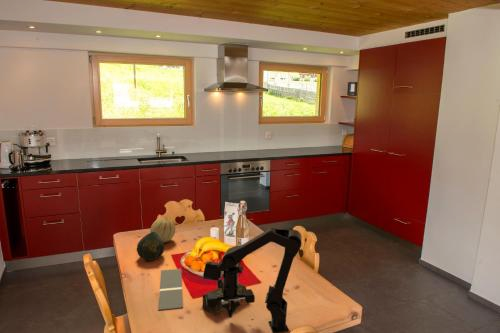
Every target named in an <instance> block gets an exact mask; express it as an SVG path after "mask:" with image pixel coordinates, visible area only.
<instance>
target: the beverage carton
mask: <svg viewBox="0 0 500 333" xmlns="http://www.w3.org/2000/svg"><path fill="white" fill-rule="evenodd" d="M246 289H247V286H246V285H244V284H242V283H241V282H239V281H238V294H242V290H246ZM215 292H216V296H220V295H223V293H222V288H217V287H216V289H214V290H211V291H209V292H206V293H204V294H202V306H201V307H202V308H203V310H206V311H207V312H208V313H210V315H212V316H215V315H216V314H218V313H221V312H223V311H224V310H226V309H225V308H223V307H222V306H221V302H220V301H217V305H216V306H215V307H207V304H206V294H207V293H215ZM239 301H240V302H242V301H244V299H240V300H239ZM228 302H229V306H230V305H231V300H229V301H228Z"/></svg>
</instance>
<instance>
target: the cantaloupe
mask: <svg viewBox="0 0 500 333" xmlns="http://www.w3.org/2000/svg"><path fill="white" fill-rule="evenodd" d="M151 232H156V233H157V234H158V236H159V237H160V238H161V239H162V241H163V243H164V244H165V243H168V242H170V241H172V239H173V238H174V236H175V234H176V226H175V224H174V222H173V221H171V220H170V219H168V218H167V217H165V218H157V219H156V220H155V221H154V222H153V223H152V225H151V226H150V231H149V233H151Z"/></svg>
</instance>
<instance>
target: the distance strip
mask: <svg viewBox="0 0 500 333" xmlns="http://www.w3.org/2000/svg"><path fill="white" fill-rule="evenodd" d="M159 280H160V282H159V295H158V297H159V298H158V309H157V310H158V311H166V310H177V309H183V308H184V302H183V300H184V299H183V280H182V269H181V268H176V269H175V268H173V269H161V270H160V278H159Z"/></svg>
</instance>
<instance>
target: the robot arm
mask: <svg viewBox="0 0 500 333" xmlns="http://www.w3.org/2000/svg"><path fill="white" fill-rule="evenodd" d="M302 236H303V235H302V234H301V232H299V230H297V229H291V230H289V229H285V228H274V227H270V228H268V229H266V230H265V231H264V232H262V233H260V234H258V235H256V236H255V237H253V238H251V239H250V240H248V241H246V242H245V243H243V244H241V245H235V246H232V247H230V248H228V249H227V250H226V251H225V253H224V254H223V257H222V259H220V262H213V261H210V260H209V261H208V260H207V261H206V262H205V264H204V269H203V273H202V275H203V276H202V277H203V279H204V280H210V281H216V289H217V288H222V293H223V295H220V296H216V292H215V293H208V292H206V293H207V294H206V293H205V294H206V304H207V307H215V306H216V305H217V301H220V302H221V306H222V307H223V308H225V309H224V310H226V314H227V316H228V317H227V318H228V319H231V318H232V316H233V314H234V312H235V311H236V309H237V308H238V307H240V306H241V301H239V300H240V299H243V300H244V301H245V303H246V304H252V303H255V302H256V301H255V300H256V297H255V294H254V292H253V289H251V288H249V289H247V288H246V290H242V294H238V282H239V274H242V273H243V270H244V267H243V265H241V262H242V260H243V259H245V258H246V257H247V256H248V255H250V254H252V253H253V252H255V251H257V250H259V249H261V248H262V247H264V246H267V244H269V243H274V244H275V245H278V246H280V247H283V248H284V253H283V256H282V259H281V263H280V266H279V270H278V272H277V275H276V279H275V283H274V285H273V286H272V285H269V286H268V292H266V294H265V295H266V296H265V301H264V303H265V304H266V306H265V307H266V309H267V311H268V312H270V316H271V317H270V318H271V320H268V326H269V328H270V327H271V328H270V330H271V332H272V333H283V332H289V330H290V329H289V327H288V325H287V315H288V313H287V312H288V301H286V299H285V298H284V297H283V296H284V290H285V286H286V284H287V280H288V277H289V274H290V271H291V268H292V264H293V261H294V259H295V257H296V256H297V254H298V253H299V251H300V249H301V247H302V243H303V238H302ZM229 300H231V305H230V306H229V302H228V301H229Z"/></svg>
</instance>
